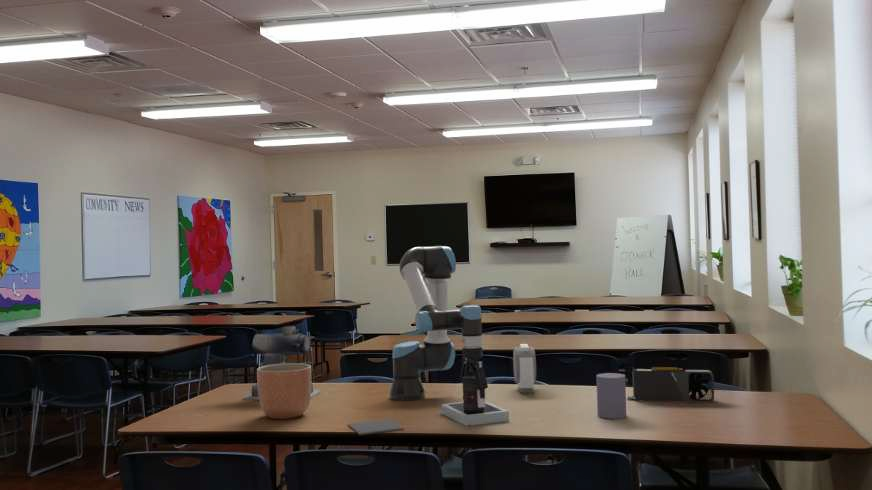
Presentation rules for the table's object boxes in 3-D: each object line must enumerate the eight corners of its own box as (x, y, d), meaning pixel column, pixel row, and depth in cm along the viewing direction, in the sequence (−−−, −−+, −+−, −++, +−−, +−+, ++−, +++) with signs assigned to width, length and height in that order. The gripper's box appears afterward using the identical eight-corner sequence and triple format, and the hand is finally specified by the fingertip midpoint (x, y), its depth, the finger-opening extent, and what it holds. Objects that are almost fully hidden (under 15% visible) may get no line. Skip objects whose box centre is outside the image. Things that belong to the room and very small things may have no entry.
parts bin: (441, 413, 288) (441, 404, 288) (482, 408, 294) (482, 399, 294) (465, 426, 266) (465, 416, 266) (509, 420, 272) (508, 411, 272)
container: (610, 420, 268) (609, 379, 268) (591, 415, 277) (590, 375, 277) (632, 417, 272) (631, 376, 273) (613, 412, 282) (612, 372, 282)
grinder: (258, 391, 346) (256, 325, 346) (322, 392, 340) (320, 324, 340) (240, 399, 327) (238, 329, 328) (308, 400, 322) (306, 328, 322)
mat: (347, 425, 273) (347, 423, 273) (389, 420, 278) (389, 418, 278) (359, 435, 258) (359, 433, 258) (403, 429, 263) (403, 427, 263)
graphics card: (627, 400, 301) (626, 365, 301) (627, 398, 306) (626, 363, 306) (714, 403, 293) (713, 366, 293) (713, 401, 297) (712, 365, 297)
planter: (253, 414, 297) (252, 366, 297) (305, 408, 305) (304, 361, 305) (263, 424, 278) (262, 373, 278) (318, 418, 286) (316, 368, 286)
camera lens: (483, 419, 275) (482, 378, 275) (461, 419, 277) (460, 378, 277) (486, 414, 283) (485, 375, 283) (465, 414, 285) (464, 375, 285)
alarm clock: (537, 393, 320) (535, 346, 320) (517, 394, 320) (516, 347, 320) (532, 386, 338) (531, 341, 338) (513, 386, 338) (512, 342, 338)
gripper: (450, 344, 290) (452, 398, 290) (476, 351, 267) (478, 411, 267) (468, 342, 293) (469, 397, 293) (495, 349, 270) (497, 408, 270)
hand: (474, 403), depth 280 cm, fingers open, 13 cm apart
